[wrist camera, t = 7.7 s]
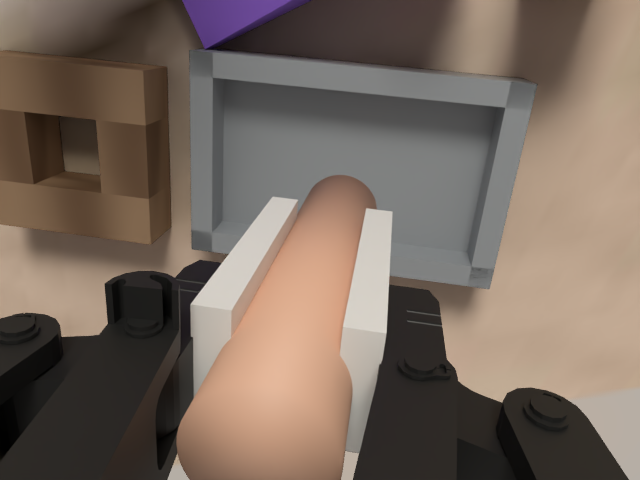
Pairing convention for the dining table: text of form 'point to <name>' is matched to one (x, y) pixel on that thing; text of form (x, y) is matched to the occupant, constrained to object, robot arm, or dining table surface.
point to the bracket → (233, 17)
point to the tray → (359, 151)
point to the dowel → (285, 357)
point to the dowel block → (113, 146)
